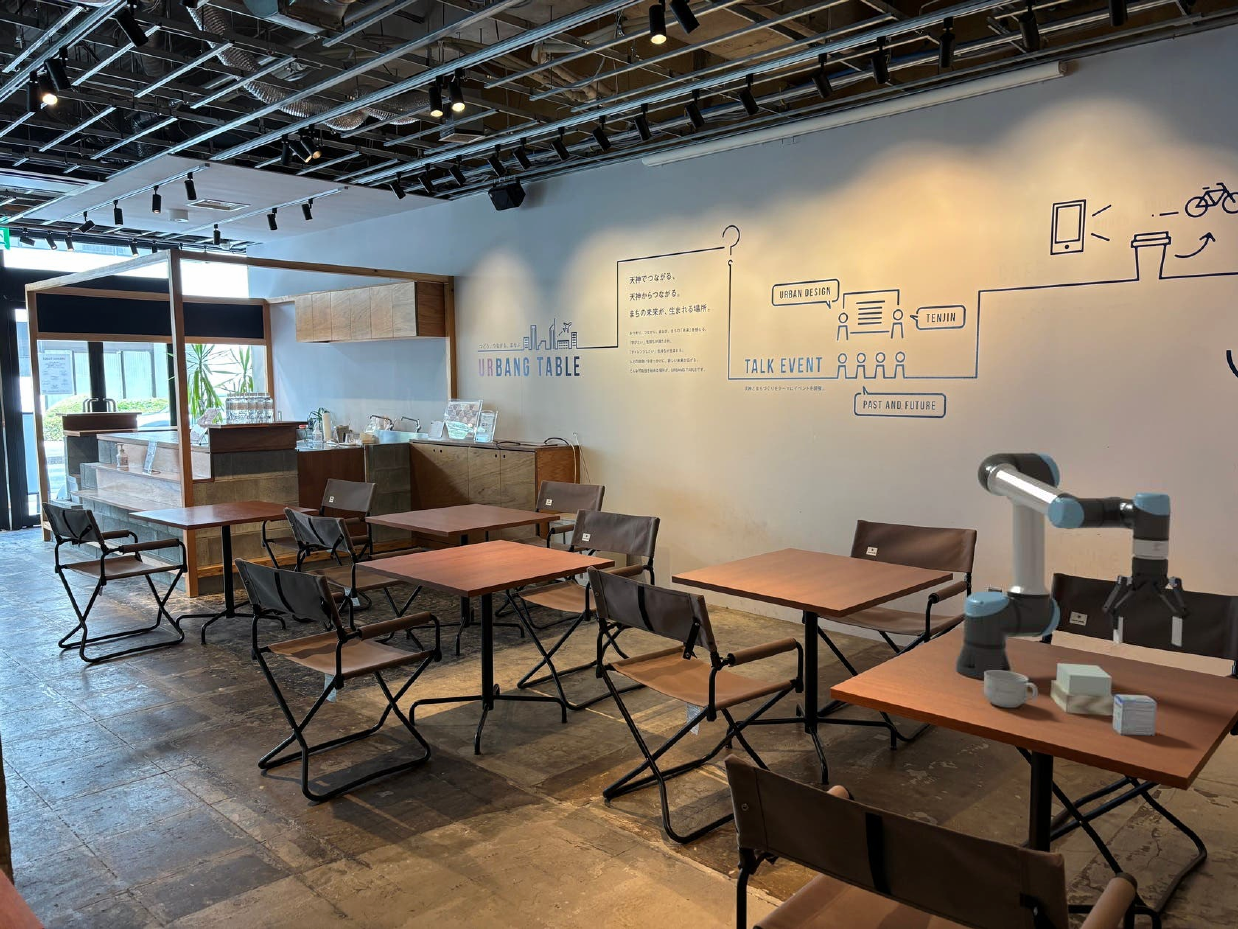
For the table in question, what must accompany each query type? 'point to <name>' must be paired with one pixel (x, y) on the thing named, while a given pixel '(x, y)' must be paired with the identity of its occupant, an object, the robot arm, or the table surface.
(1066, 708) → the birch base block
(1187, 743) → the table surface
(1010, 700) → the teacup
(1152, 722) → the medicine box
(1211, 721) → the table surface
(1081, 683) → the grey-green top block
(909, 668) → the table surface
